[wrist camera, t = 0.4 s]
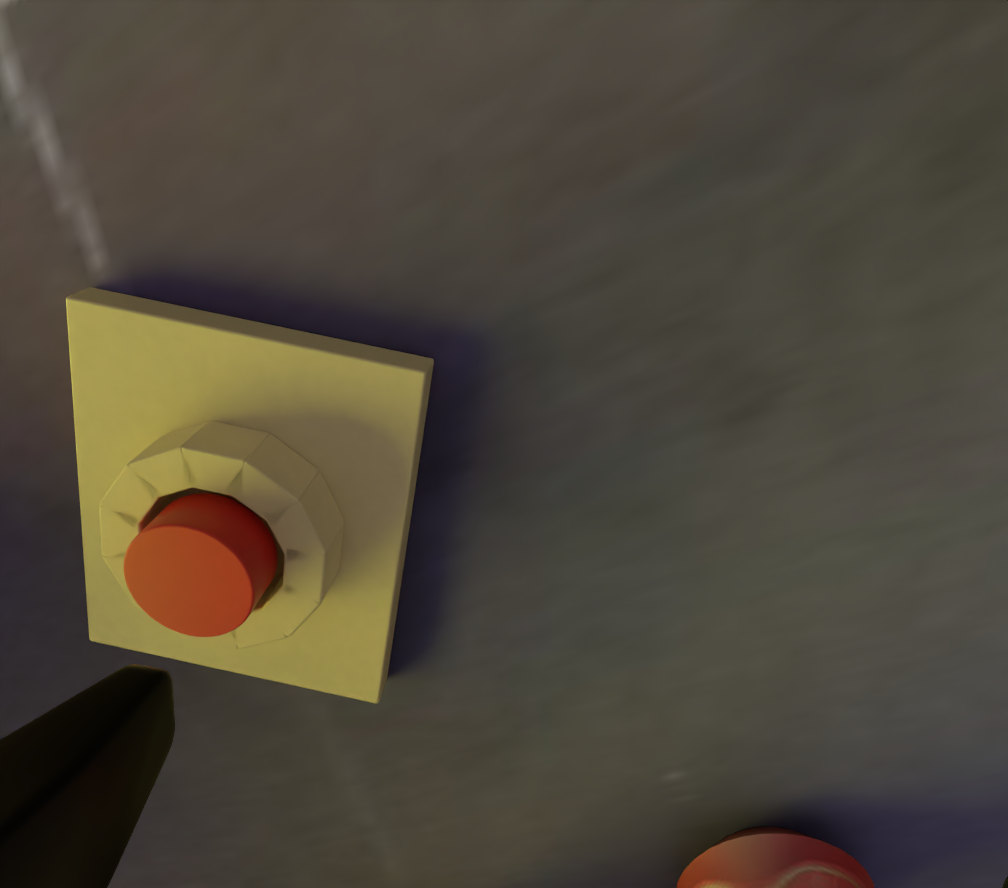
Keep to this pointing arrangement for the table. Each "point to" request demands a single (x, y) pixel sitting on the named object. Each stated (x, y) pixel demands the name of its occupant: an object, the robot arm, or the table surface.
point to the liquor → (774, 863)
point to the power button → (201, 565)
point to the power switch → (250, 477)
